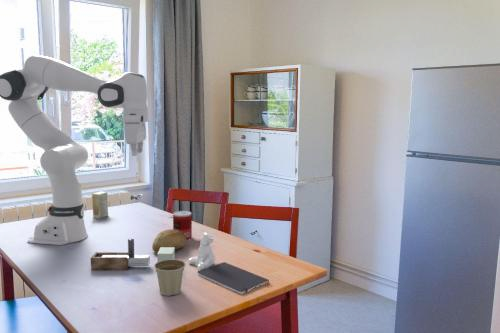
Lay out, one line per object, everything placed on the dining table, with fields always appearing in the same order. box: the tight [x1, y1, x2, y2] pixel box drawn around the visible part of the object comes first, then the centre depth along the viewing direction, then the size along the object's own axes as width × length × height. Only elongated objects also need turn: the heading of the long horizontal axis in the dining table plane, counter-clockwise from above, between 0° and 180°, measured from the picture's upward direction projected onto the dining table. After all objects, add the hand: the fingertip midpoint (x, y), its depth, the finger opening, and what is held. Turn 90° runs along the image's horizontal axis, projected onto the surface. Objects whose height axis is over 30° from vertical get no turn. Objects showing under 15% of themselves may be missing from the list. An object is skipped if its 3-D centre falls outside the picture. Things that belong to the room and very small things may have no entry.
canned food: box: [172, 210, 193, 241], centre depth 180 cm, size 8×8×11 cm
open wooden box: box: [90, 251, 130, 271], centre depth 148 cm, size 12×5×4 cm, turn 93°
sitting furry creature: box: [188, 232, 217, 272], centre depth 151 cm, size 10×9×12 cm
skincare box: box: [91, 190, 109, 219], centre depth 210 cm, size 6×4×12 cm
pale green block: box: [156, 247, 176, 263], centre depth 148 cm, size 5×6×6 cm
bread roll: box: [152, 228, 188, 254], centre depth 166 cm, size 10×15×8 cm, turn 139°
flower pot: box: [153, 258, 187, 297], centre depth 130 cm, size 9×9×9 cm
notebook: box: [197, 261, 270, 294], centre depth 141 cm, size 13×2×21 cm
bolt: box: [102, 238, 151, 267], centre depth 147 cm, size 16×3×9 cm, turn 93°
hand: (137, 154), depth 160 cm, fingers open, 8 cm apart
